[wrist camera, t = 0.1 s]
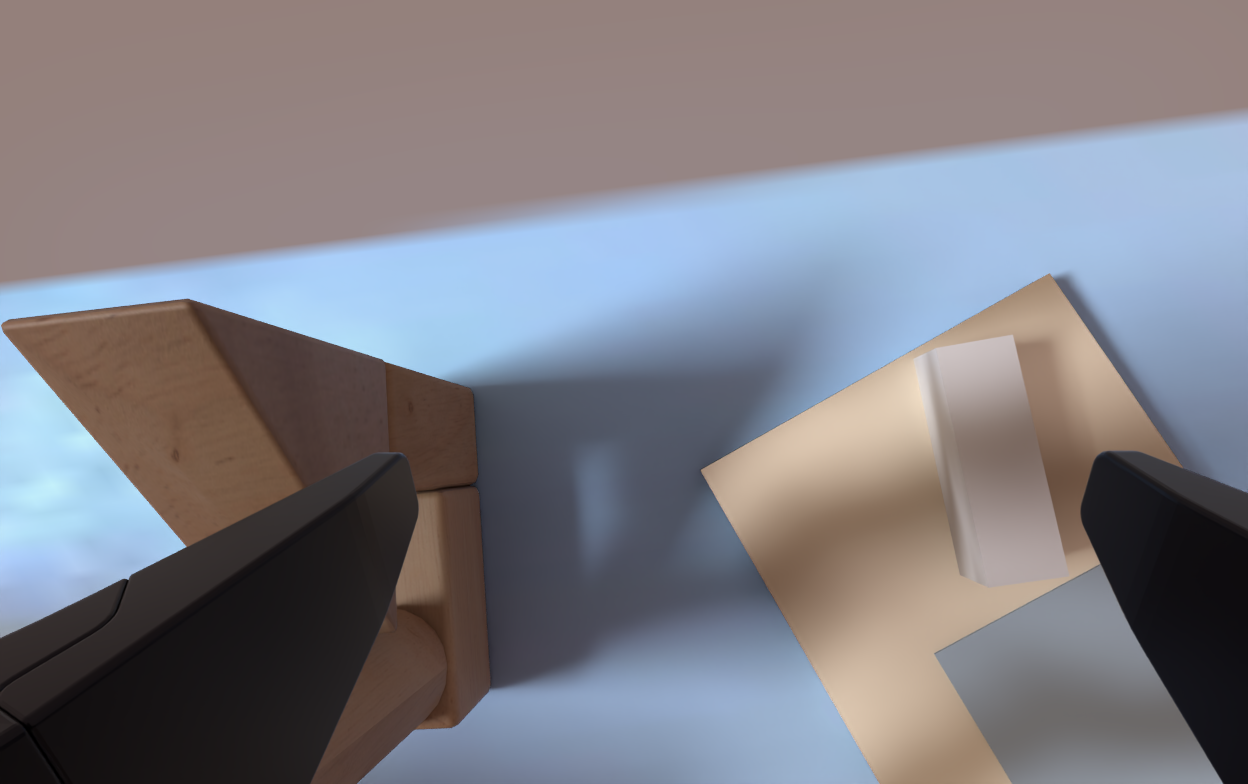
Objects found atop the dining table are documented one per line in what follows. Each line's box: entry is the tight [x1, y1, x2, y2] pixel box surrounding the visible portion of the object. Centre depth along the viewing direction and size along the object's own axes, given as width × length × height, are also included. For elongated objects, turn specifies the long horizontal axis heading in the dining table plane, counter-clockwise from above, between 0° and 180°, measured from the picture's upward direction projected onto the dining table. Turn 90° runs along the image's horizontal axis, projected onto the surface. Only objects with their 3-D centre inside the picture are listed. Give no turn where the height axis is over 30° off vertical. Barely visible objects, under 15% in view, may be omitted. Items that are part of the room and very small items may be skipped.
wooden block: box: [1, 299, 491, 784], centre depth 16 cm, size 4×11×18 cm, turn 5°
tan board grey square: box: [700, 273, 1223, 784], centre depth 20 cm, size 25×13×3 cm, turn 30°
